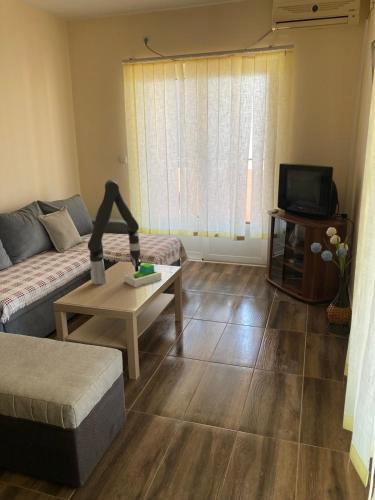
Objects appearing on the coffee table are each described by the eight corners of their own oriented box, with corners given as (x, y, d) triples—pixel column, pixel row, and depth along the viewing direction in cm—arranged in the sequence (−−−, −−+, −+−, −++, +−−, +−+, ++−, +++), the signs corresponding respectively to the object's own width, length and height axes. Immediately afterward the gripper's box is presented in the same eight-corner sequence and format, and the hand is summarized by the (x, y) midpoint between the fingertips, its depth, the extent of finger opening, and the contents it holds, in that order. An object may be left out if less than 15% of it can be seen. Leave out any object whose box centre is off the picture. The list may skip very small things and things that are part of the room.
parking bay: (135, 287, 275) (134, 280, 274) (124, 281, 286) (124, 275, 285) (161, 279, 288) (161, 272, 286) (150, 274, 299) (149, 268, 298)
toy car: (132, 280, 289) (131, 267, 286) (147, 275, 298) (146, 262, 295) (141, 283, 282) (140, 270, 279) (155, 278, 290) (154, 265, 288)
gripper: (125, 248, 290) (127, 270, 295) (135, 251, 280) (137, 274, 285) (134, 246, 295) (136, 268, 299) (144, 249, 284) (146, 272, 289)
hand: (136, 271), depth 292 cm, fingers closed
